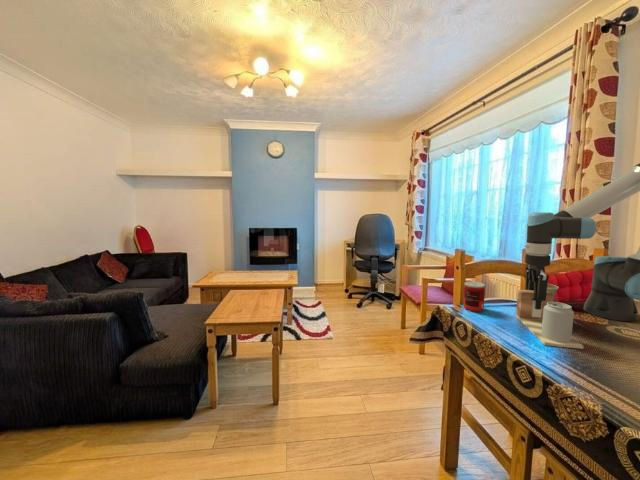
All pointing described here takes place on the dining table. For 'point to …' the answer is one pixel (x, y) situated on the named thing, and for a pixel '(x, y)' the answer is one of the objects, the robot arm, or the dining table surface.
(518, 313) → the wooden bracket
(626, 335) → the dining table surface
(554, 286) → the flower pot
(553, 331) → the can
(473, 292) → the canned food
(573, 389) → the dining table surface
